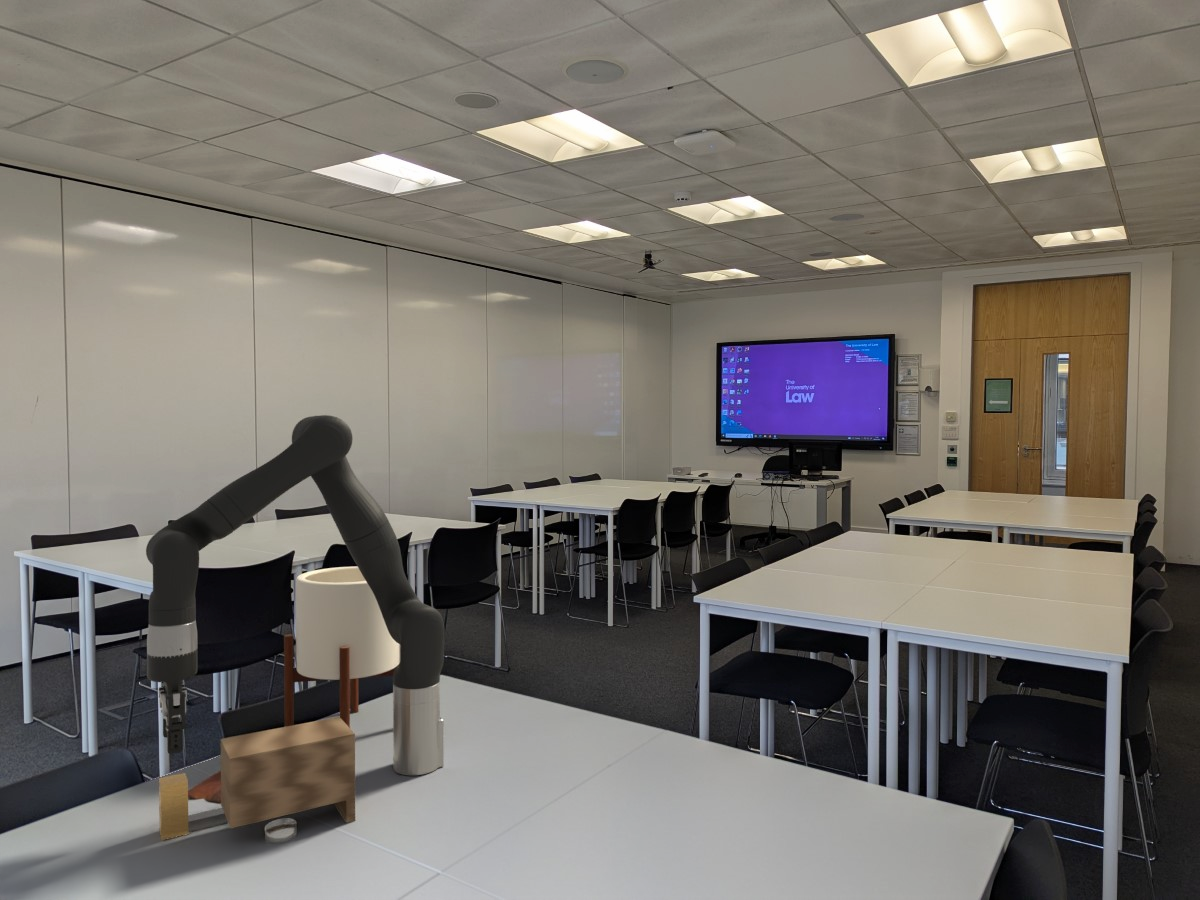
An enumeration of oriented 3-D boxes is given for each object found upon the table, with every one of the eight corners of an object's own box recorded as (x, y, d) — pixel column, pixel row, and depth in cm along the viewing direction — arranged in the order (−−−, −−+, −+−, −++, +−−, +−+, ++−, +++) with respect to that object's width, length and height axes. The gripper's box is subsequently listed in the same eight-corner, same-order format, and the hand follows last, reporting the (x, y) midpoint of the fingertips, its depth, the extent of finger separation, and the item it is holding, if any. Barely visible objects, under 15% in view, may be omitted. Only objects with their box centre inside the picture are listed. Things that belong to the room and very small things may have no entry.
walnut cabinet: (339, 798, 148) (339, 716, 148) (355, 820, 140) (354, 733, 139) (221, 827, 137) (220, 738, 137) (230, 853, 129) (229, 758, 129)
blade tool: (289, 800, 148) (288, 751, 147) (293, 808, 144) (293, 759, 144) (159, 830, 136) (158, 778, 136) (161, 840, 133) (160, 787, 133)
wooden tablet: (228, 807, 146) (227, 798, 146) (179, 802, 148) (179, 793, 148) (308, 750, 172) (308, 742, 172) (266, 746, 174) (266, 738, 174)
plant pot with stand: (421, 725, 185) (420, 571, 185) (343, 758, 166) (342, 587, 166) (354, 707, 197) (354, 563, 196) (275, 736, 178) (274, 576, 177)
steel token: (293, 827, 138) (293, 815, 138) (299, 839, 134) (299, 827, 134) (262, 834, 135) (262, 823, 135) (267, 847, 131) (267, 835, 131)
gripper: (202, 655, 131) (202, 753, 131) (192, 636, 143) (192, 726, 143) (150, 662, 127) (150, 763, 127) (144, 642, 139) (144, 735, 139)
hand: (172, 744), depth 135 cm, fingers open, 8 cm apart
